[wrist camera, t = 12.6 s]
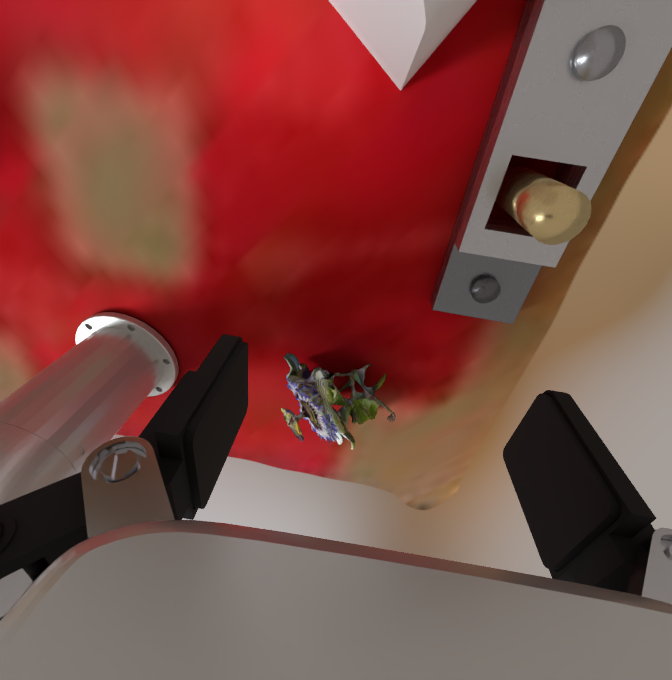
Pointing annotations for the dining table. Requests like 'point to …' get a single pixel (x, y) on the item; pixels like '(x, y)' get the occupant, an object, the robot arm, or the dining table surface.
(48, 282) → the dining table surface
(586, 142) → the grey long rectangular block
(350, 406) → the passion flower
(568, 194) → the brass pin
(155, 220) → the dining table surface
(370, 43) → the milk
